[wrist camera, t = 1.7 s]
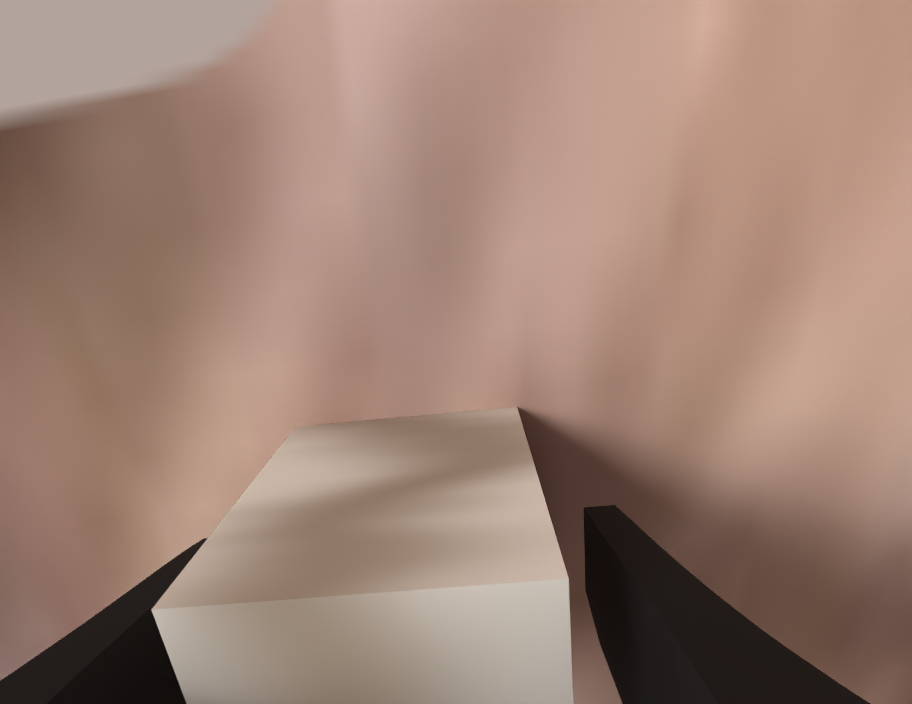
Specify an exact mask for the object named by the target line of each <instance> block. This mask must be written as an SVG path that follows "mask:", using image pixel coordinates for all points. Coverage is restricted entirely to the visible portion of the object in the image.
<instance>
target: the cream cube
mask: <svg viewBox="0 0 912 704" xmlns="http://www.w3.org/2000/svg"><path fill="white" fill-rule="evenodd" d="M152 613H153V616H154V618H155V621H156V624H157V626H158V629H159V632H160V634H161V637H162V640H163V642H164V645H165V648H166V650H167V653H168V656H169V658H170V661H171V664H172V666H173V669H174V672H175V674H176V677H177V680H178V682H179V685H180V688H181V690H182V693H183V696H184V698H185V701H186V704H573V684H572V656H571V629H570V601H569V578H568V575H567V571H566V568H565V565H564V561H563V558H562V555H561V551H560V548H559V545H558V541H557V538H556V535H555V531H554V528H553V525H552V521H551V518H550V515H549V511H548V508H547V505H546V501H545V498H544V495H543V492H542V488H541V485H540V482H539V478H538V475H537V472H536V468H535V465H534V462H533V458H532V455H531V452H530V448H529V445H528V442H527V438H526V435H525V432H524V428H523V425H522V422H521V418H520V415H519V412H518V408H517V407H509V408H498V409H487V410H476V411H465V412H454V413H443V414H431V415H420V416H409V417H398V418H387V419H376V420H365V421H354V422H343V423H331V424H320V425H309V426H298V427H295V428H294V430H293V431H292V432H291V433H290V435H289V436H288V437H287V438H286V440H285V441H284V442H283V443H282V445H281V446H280V447H279V449H278V450H277V451H276V452H275V454H274V455H273V456H272V457H271V459H270V460H269V461H268V462H267V464H266V465H265V466H264V468H263V469H262V470H261V471H260V473H259V474H258V475H257V476H256V478H255V479H254V480H253V482H252V483H251V484H250V485H249V487H248V488H247V489H246V490H245V492H244V493H243V494H242V495H241V497H240V498H239V499H238V501H237V502H236V503H235V504H234V506H233V507H232V508H231V509H230V511H229V512H228V513H227V514H226V516H225V517H224V518H223V520H222V521H221V522H220V523H219V525H218V526H217V527H216V528H215V530H214V531H213V532H212V533H211V535H210V536H209V537H208V539H207V540H206V541H205V542H204V544H203V545H202V546H201V547H200V549H199V550H198V551H197V552H196V554H195V555H194V556H193V558H192V559H191V560H190V561H189V563H188V564H187V565H186V566H185V568H184V569H183V570H182V571H181V573H180V574H179V575H178V577H177V578H176V579H175V580H174V582H173V583H172V584H171V585H170V587H169V588H168V589H167V591H166V592H165V593H164V594H163V596H162V597H161V598H160V599H159V601H158V602H157V603H156V604H155V606H154V607H153V608H152Z"/></svg>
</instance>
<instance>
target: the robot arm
mask: <svg viewBox="0 0 912 704" xmlns="http://www.w3.org/2000/svg"><path fill="white" fill-rule="evenodd" d="M207 539H208V538H205V539H202V540H201V541H199V542H198V543H196V544H195V545H193V546H191V547H190V548H188V549H187V550H185V551H184V552H182V553H181V554H180V555H178V556H177V557H175V558H174V559H172V560H171V561H170V562H168V563H167V564H165V565H164V566H163V567H161V568H160V569H159V570H157V571H156V572H154V573H153V574H152V575H150V576H149V577H147V578H146V579H145V580H143V581H142V582H141V583H139V584H138V585H136V586H135V587H134V588H132V589H131V590H130V591H128V592H127V593H125V594H124V595H123V596H121V597H120V598H119V599H117V600H116V601H114V602H113V603H112V604H110V605H109V606H107V607H106V608H105V609H103V610H102V611H101V612H99V613H98V614H96V615H95V616H94V617H92V618H91V619H90V620H88V621H87V622H85V623H84V624H83V625H81V626H80V627H78V628H77V629H75V630H74V631H72V632H71V633H69V634H68V635H67V636H65V637H64V638H62V639H61V640H59V641H58V642H56V643H55V644H53V645H52V646H51V647H49V648H48V649H46V650H45V651H43V652H42V653H40V654H39V655H38V656H36V657H35V658H33V659H32V660H30V661H29V662H27V663H26V664H24V665H23V666H22V667H20V668H19V669H17V670H16V671H14V672H13V673H11V674H10V675H8V676H7V677H5V678H4V679H2V680H1V681H0V704H186V701H185V698H184V696H183V693H182V690H181V688H180V685H179V682H178V680H177V677H176V674H175V672H174V669H173V666H172V664H171V661H170V658H169V656H168V653H167V650H166V648H165V645H164V642H163V640H162V637H161V634H160V632H159V629H158V626H157V624H156V621H155V618H154V616H153V613H152V608H153V607H154V606H155V604H156V603H157V602H158V601H159V599H160V598H161V597H162V596H163V594H164V593H165V592H166V591H167V589H168V588H169V587H170V585H171V584H172V583H173V582H174V580H175V579H176V578H177V577H178V575H179V574H180V573H181V571H182V570H183V569H184V568H185V566H186V565H187V564H188V563H189V561H190V560H191V559H192V558H193V556H194V555H195V554H196V552H197V551H198V550H199V549H200V547H201V546H202V545H203V544H204V542H205V541H206V540H207ZM584 540H585V583H586V593H587V597H588V601H589V605H590V608H591V612H592V616H593V620H594V623H595V627H596V631H597V634H598V638H599V641H600V645H601V647H602V650H603V653H604V655H605V658H606V661H607V663H608V666H609V669H610V671H611V674H612V677H613V679H614V682H615V684H616V687H617V690H618V692H619V695H620V698H621V700H622V703H623V704H870V703H868V702H867V701H865V700H864V699H862V698H861V697H859V696H857V695H856V694H854V693H853V692H851V691H850V690H848V689H847V688H845V687H843V686H842V685H840V684H839V683H837V682H836V681H835V680H833V679H832V678H830V677H829V676H827V675H826V674H824V673H823V672H821V671H820V670H818V669H817V668H815V667H814V666H813V665H811V664H810V663H808V662H807V661H805V660H804V659H802V658H801V657H799V656H798V655H796V654H795V653H794V652H792V651H791V650H789V649H788V648H786V647H785V646H783V645H782V644H781V643H779V642H778V641H777V640H775V639H774V638H772V637H771V636H770V635H768V634H767V633H765V632H764V631H763V630H761V629H760V628H759V627H757V626H756V625H755V624H754V623H752V622H751V621H750V620H748V619H747V618H746V617H744V616H743V615H742V614H741V613H739V612H738V611H737V610H735V609H734V608H733V607H731V606H730V605H729V604H728V603H726V602H725V601H724V600H722V599H721V598H720V597H719V596H718V595H716V594H715V593H714V592H713V591H711V590H710V589H709V588H708V587H707V586H705V585H704V584H703V583H702V582H701V581H699V580H698V579H697V578H696V577H695V576H694V575H692V574H691V573H690V572H689V571H688V570H686V569H685V568H684V567H683V566H682V565H681V564H679V563H678V562H677V561H676V560H675V559H674V558H672V557H671V556H670V555H669V554H668V553H667V552H666V551H665V550H663V549H662V548H661V547H660V546H659V545H658V544H657V543H656V542H655V541H653V540H652V539H651V538H650V537H649V536H648V535H647V534H646V533H645V532H644V531H642V530H641V529H640V528H639V527H638V526H637V525H636V524H635V523H634V522H633V521H632V520H631V519H629V518H628V517H627V516H626V515H625V514H624V513H623V512H622V511H621V510H619V509H618V508H617V507H616V506H615V505H611V506H599V507H586V508H584Z"/></svg>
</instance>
